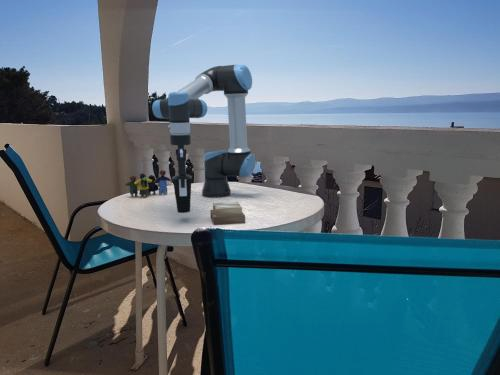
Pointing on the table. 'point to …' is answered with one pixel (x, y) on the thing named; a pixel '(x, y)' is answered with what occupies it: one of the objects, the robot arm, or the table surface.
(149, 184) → the doll family
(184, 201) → the drinking cup
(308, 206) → the table surface
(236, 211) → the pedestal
